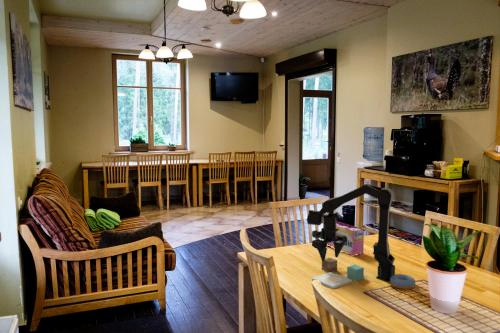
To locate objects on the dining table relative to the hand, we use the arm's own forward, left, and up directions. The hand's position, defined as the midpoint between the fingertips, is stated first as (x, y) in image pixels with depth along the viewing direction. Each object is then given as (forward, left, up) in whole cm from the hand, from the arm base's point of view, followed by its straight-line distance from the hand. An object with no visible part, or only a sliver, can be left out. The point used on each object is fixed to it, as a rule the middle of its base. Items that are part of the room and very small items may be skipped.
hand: (329, 259), depth 186 cm
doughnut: (-32, -9, -6) cm, 34 cm away
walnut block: (0, 0, -5) cm, 5 cm away
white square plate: (-10, +10, -5) cm, 15 cm away
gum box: (+17, -31, -6) cm, 36 cm away
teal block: (-14, -1, -5) cm, 15 cm away
